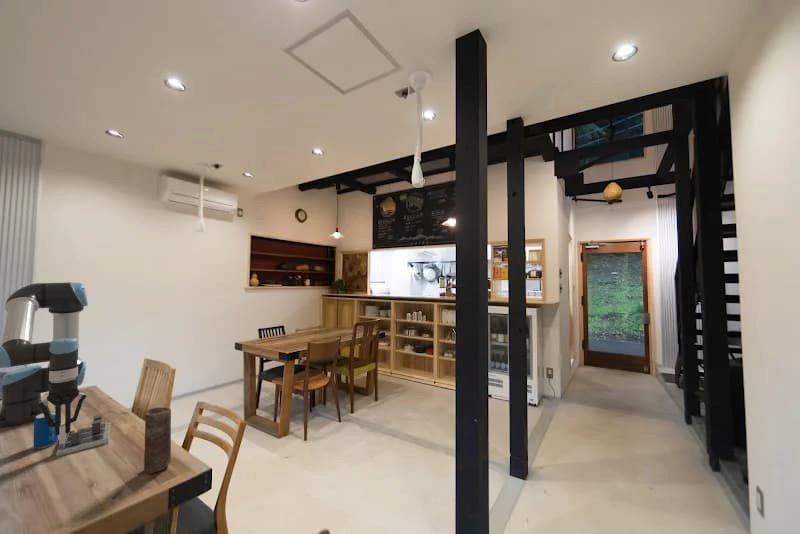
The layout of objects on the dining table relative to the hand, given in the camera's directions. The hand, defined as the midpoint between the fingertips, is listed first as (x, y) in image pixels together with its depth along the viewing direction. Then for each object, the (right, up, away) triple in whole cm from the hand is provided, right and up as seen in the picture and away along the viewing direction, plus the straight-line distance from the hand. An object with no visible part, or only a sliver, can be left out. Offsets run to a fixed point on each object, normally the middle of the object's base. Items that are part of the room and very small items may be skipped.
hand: (62, 442), depth 119 cm
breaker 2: (+3, -1, +10) cm, 11 cm away
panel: (+1, -4, +8) cm, 9 cm away
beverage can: (-12, -4, +5) cm, 13 cm away
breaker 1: (-1, -1, +15) cm, 15 cm away
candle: (+44, -4, -10) cm, 45 cm away
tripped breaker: (+3, -1, +2) cm, 4 cm away
